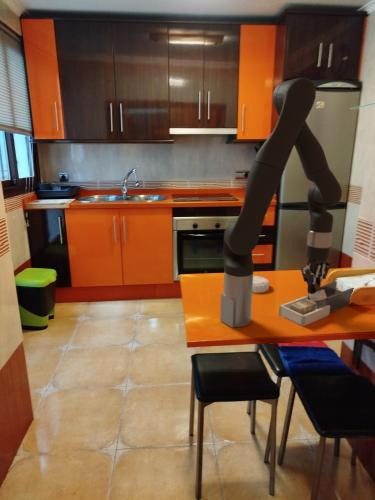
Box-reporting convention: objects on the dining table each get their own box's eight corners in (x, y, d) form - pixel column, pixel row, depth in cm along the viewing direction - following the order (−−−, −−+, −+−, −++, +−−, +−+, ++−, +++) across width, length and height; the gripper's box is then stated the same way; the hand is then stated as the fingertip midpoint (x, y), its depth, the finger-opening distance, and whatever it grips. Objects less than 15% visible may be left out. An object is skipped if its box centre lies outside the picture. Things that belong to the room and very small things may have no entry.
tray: (302, 326, 111) (303, 316, 110) (278, 314, 119) (279, 305, 118) (329, 315, 119) (330, 306, 118) (304, 304, 127) (305, 296, 126)
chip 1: (307, 316, 117) (299, 320, 114) (297, 312, 120) (289, 315, 118) (308, 306, 116) (300, 309, 113) (298, 301, 119) (290, 304, 117)
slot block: (326, 314, 120) (328, 298, 118) (306, 305, 126) (308, 290, 124) (352, 303, 128) (355, 288, 127) (332, 295, 135) (334, 281, 133)
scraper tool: (322, 299, 115) (312, 273, 117) (311, 302, 119) (301, 277, 121) (327, 297, 116) (317, 272, 118) (315, 300, 121) (306, 276, 122)
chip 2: (308, 316, 116) (309, 306, 115) (298, 312, 119) (299, 301, 118) (315, 313, 119) (316, 303, 117) (305, 309, 122) (307, 298, 120)
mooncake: (274, 287, 144) (274, 279, 143) (258, 295, 135) (258, 287, 134) (250, 280, 152) (250, 272, 151) (233, 287, 143) (233, 279, 142)
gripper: (315, 249, 108) (310, 300, 112) (341, 243, 115) (335, 291, 120) (295, 244, 114) (291, 293, 118) (321, 238, 121) (316, 284, 126)
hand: (313, 292), depth 119 cm, fingers closed on scraper tool, 2 cm apart
